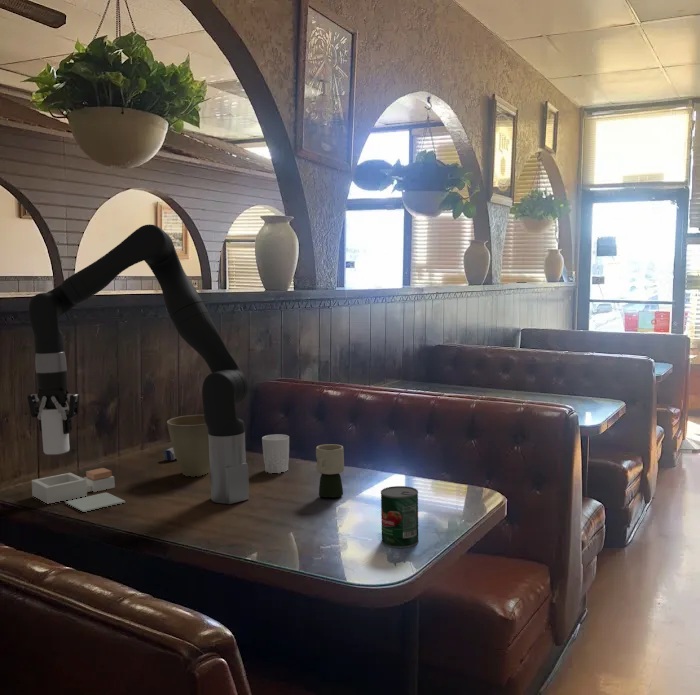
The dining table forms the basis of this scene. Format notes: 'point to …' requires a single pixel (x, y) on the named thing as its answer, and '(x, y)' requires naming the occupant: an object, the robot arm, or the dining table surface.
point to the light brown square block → (98, 473)
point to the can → (53, 433)
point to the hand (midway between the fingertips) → (55, 433)
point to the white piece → (68, 487)
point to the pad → (95, 502)
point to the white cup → (276, 453)
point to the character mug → (330, 469)
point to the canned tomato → (399, 516)
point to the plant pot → (190, 444)
